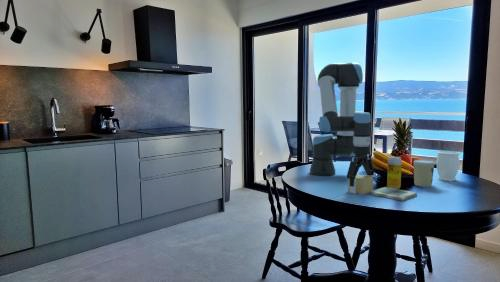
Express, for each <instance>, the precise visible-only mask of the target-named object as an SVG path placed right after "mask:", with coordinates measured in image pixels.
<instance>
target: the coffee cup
mask: <svg viewBox="0 0 500 282" xmlns="http://www.w3.org/2000/svg"><path fill="white" fill-rule="evenodd" d="M434 169H435V161H432V160H425V159H424V160H423V159H422V160H421V159H417V160H414V161H413V179H414V180H413V182H414V185H415V186H417V187H423V188H427V187H429V188H430V187H432V186H433V180H434V179H433V178H434V177H433V176H434V171H435V170H434Z"/></svg>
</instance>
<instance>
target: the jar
mask: <svg viewBox="0 0 500 282" xmlns="http://www.w3.org/2000/svg"><path fill="white" fill-rule="evenodd" d="M436 154H437V156H436V163H435V164H436V171H437V175H438V177H437V179H438V180H440V181H445V182H454V181H457V178H456V177H457V175H458V171H459V167H460V158H459V156H460V152H458V151H453V150H452V151H451V150H439V151H436Z"/></svg>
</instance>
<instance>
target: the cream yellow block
mask: <svg viewBox="0 0 500 282" xmlns="http://www.w3.org/2000/svg"><path fill="white" fill-rule="evenodd" d="M355 179H356V194H360V195H366V194H369V193H370V191H374V176H371V177H370V176H365V175H364V174H357V175H356V177H355ZM347 180H348V181H347V183H348V184H347V185H348V186H347V189H348V191H347V192H350V179H348V178H347Z"/></svg>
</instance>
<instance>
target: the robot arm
mask: <svg viewBox="0 0 500 282" xmlns="http://www.w3.org/2000/svg"><path fill="white" fill-rule="evenodd" d="M363 75H364V74H363V68H362V66H361V64H360V62H359V63H358V62H340V63H339V62H337V63H336V62H333V63H329V64H327V65H325V66H324V67H323V68H322V69H321V70H320V71H319V73H318V75H317V86H318V88H319V91H320V102H321V112H322V116H320V117H319V120H318V121H319V122H318V123H319V126H318V127H319V131H321V132H326V133H325V134H319V135H315V136H314V137H313V139H312V162H311V165H310V168H309V174H310V175H314V174H315V176H334V175H336V168H335V164H334V161H333V160H334V159H333V157H350V163H349V166H348V169H347V174H346V178H347V180H348V179H350V191H349V194H354V195H355V194H357V193H356V179H355V177H356V175H358V172H359V171H360V170H359V169H360V168H362V167H363V169H364V171H365V175H364V176H370V177H372V176H374V175H375V168H374V165H373V160H372V159H373V158H372V154H371V147H370V145H371V124H372V123H371V122H372V117H371V113H370V112H365V111H364V112H361V111H360V112H356V102H357V101H356V100H357V89H358V88H359V87H360V85H361V84H363V79H364V76H363ZM335 85H337V88H338V89H339V90H340V94H339V95H340V98H339V101H340V103H339V104H340V105H339V113H338V107H337V106H338V105H337V99H336V93H335V92H336V91H335ZM329 132H337V133H336V136H334V135H333V134H332V133H329ZM327 133H329V134H327Z"/></svg>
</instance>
